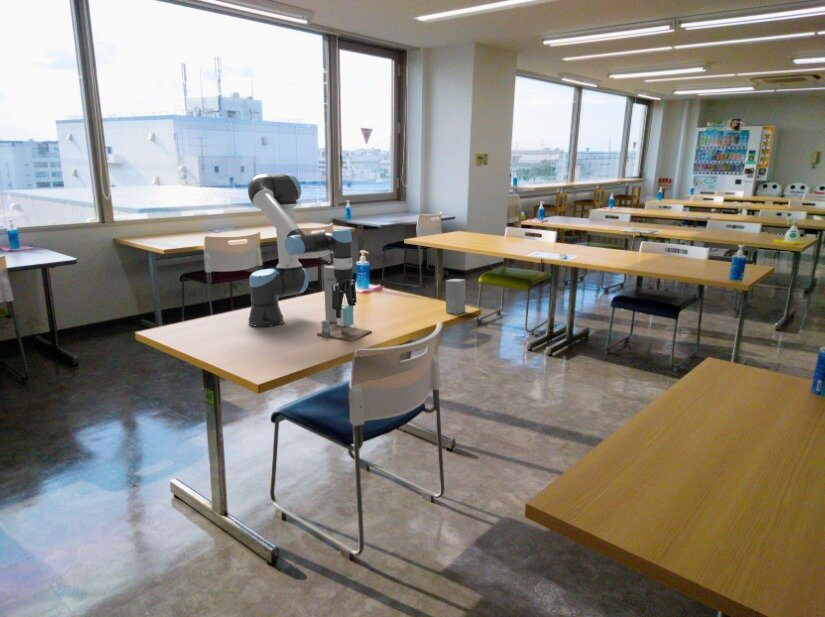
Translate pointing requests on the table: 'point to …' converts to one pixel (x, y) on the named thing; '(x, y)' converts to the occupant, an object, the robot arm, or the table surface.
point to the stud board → (346, 337)
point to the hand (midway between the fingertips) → (345, 322)
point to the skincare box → (455, 296)
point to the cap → (347, 315)
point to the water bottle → (329, 293)
